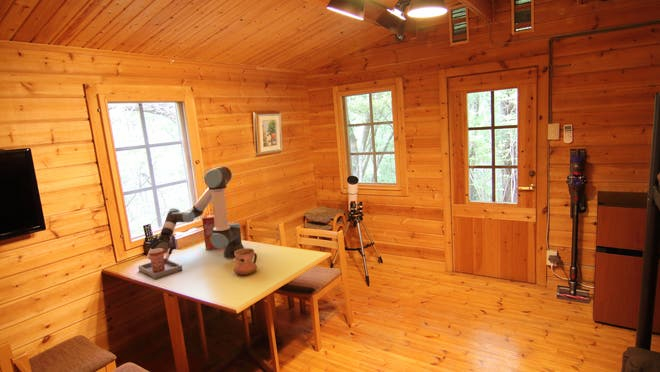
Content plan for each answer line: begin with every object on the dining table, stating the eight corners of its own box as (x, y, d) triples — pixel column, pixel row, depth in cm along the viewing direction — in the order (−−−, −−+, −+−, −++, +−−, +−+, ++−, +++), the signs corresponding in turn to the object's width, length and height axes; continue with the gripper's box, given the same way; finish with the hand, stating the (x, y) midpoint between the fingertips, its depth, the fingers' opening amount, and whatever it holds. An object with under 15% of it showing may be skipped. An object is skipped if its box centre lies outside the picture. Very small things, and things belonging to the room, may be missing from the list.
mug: (155, 273, 256) (152, 253, 253) (148, 271, 261) (145, 251, 259) (173, 267, 265) (171, 248, 263) (166, 264, 271) (164, 245, 268)
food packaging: (205, 250, 300) (201, 218, 295) (206, 246, 309) (203, 215, 304) (223, 248, 302) (220, 216, 298) (224, 244, 311) (221, 213, 307)
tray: (182, 270, 262) (181, 265, 261) (155, 279, 249) (154, 274, 248) (165, 262, 278) (164, 257, 277) (139, 271, 265) (138, 266, 264)
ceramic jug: (241, 279, 241) (239, 257, 239) (227, 274, 251) (226, 252, 249) (264, 270, 254) (263, 249, 252) (251, 265, 264) (249, 245, 262)
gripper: (187, 232, 273) (177, 261, 261) (154, 232, 278) (144, 260, 267) (181, 227, 267) (171, 256, 255) (148, 227, 272) (137, 255, 261)
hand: (157, 258), depth 261 cm, fingers open, 13 cm apart
